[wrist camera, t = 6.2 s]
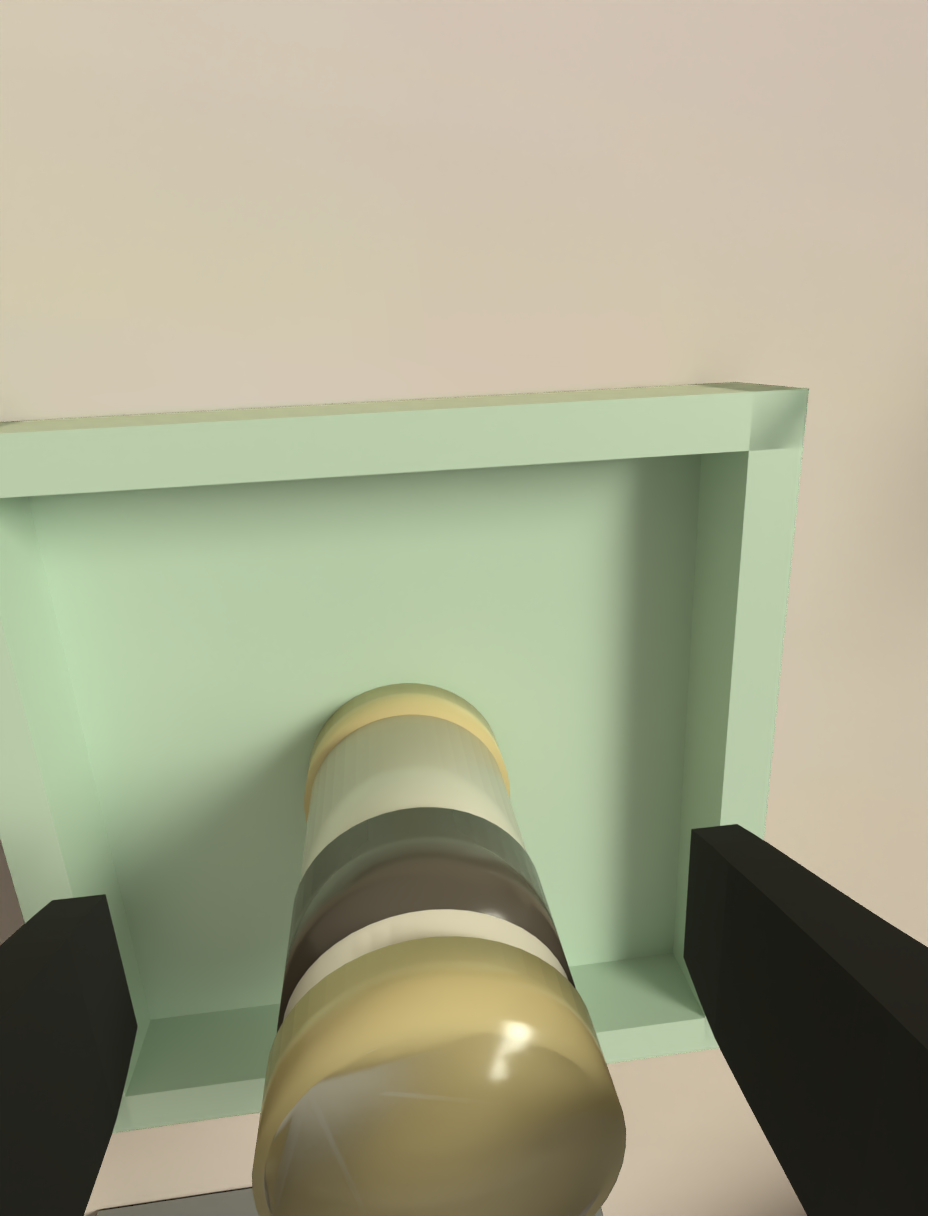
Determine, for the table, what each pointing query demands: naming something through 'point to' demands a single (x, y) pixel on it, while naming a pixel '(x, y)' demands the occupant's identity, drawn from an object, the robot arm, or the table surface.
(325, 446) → the parts tray
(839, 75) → the table surface
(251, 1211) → the fuse block
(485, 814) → the banded cream cylinder
